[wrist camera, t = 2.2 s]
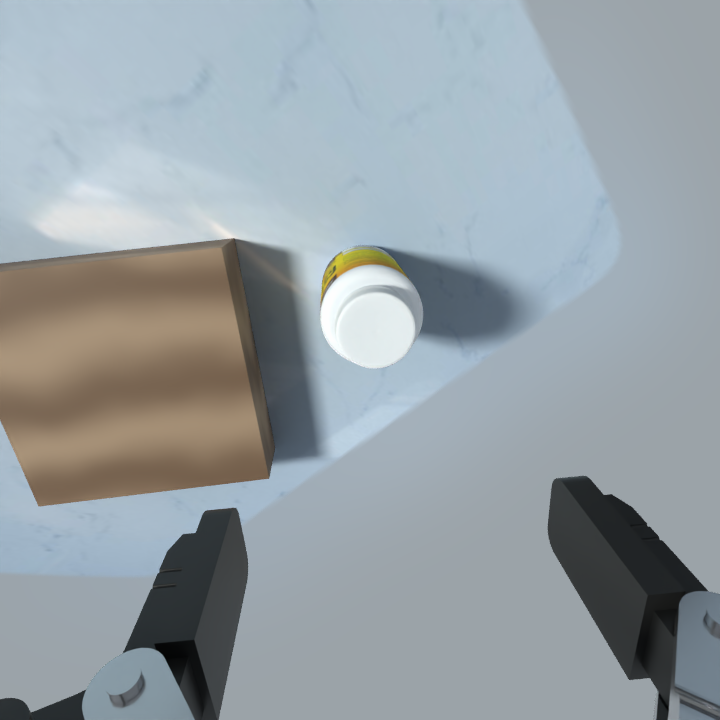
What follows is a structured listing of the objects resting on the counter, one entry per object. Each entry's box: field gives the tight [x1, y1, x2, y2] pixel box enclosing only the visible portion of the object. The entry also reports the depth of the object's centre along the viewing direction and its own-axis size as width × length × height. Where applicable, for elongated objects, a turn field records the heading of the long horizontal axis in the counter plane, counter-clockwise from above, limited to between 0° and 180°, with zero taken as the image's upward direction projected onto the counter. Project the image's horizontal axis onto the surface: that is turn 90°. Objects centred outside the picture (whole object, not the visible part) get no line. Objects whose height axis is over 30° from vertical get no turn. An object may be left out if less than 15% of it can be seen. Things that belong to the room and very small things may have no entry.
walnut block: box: [0, 239, 275, 506], centre depth 31 cm, size 16×16×4 cm
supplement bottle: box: [320, 245, 423, 368], centre depth 27 cm, size 6×6×10 cm
